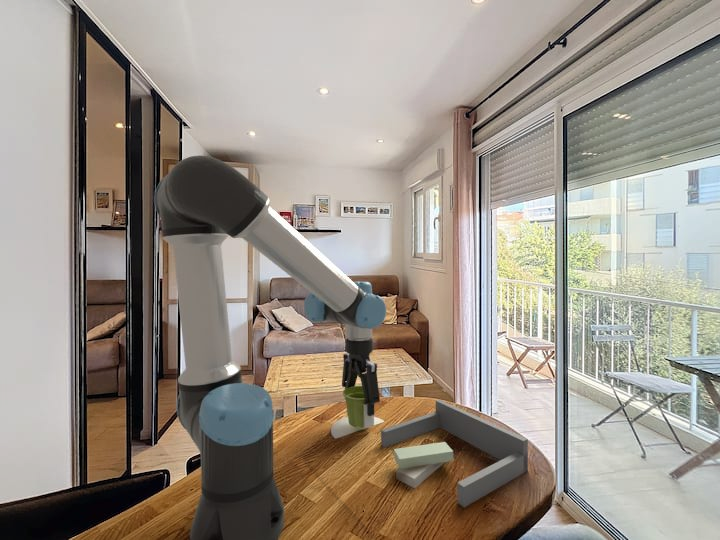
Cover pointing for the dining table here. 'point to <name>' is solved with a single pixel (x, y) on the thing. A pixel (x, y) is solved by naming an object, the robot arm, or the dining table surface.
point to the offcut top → (423, 455)
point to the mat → (347, 427)
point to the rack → (478, 434)
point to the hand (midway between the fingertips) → (359, 420)
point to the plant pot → (355, 405)
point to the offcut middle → (416, 473)
